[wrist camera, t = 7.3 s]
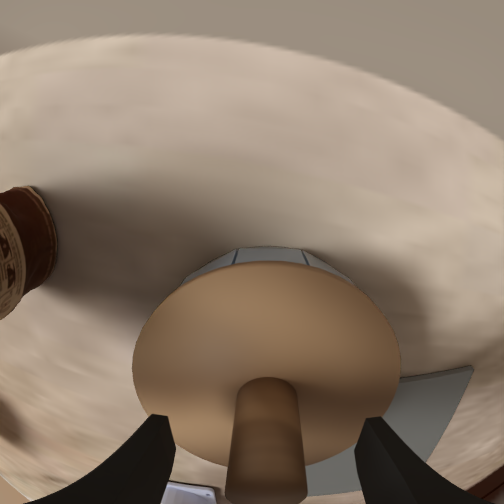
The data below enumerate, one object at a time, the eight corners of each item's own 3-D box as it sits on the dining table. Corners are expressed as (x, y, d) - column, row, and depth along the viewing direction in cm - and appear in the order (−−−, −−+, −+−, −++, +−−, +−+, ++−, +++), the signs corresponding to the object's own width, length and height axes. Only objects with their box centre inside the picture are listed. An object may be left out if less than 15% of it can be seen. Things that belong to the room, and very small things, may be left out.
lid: (372, 448, 14) (395, 525, 8) (169, 456, 14) (147, 532, 9) (410, 251, 11) (502, 312, 5) (112, 267, 11) (22, 333, 6)
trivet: (412, 475, 20) (414, 478, 19) (270, 493, 20) (270, 497, 20) (470, 365, 16) (474, 369, 16) (282, 385, 17) (282, 391, 16)
